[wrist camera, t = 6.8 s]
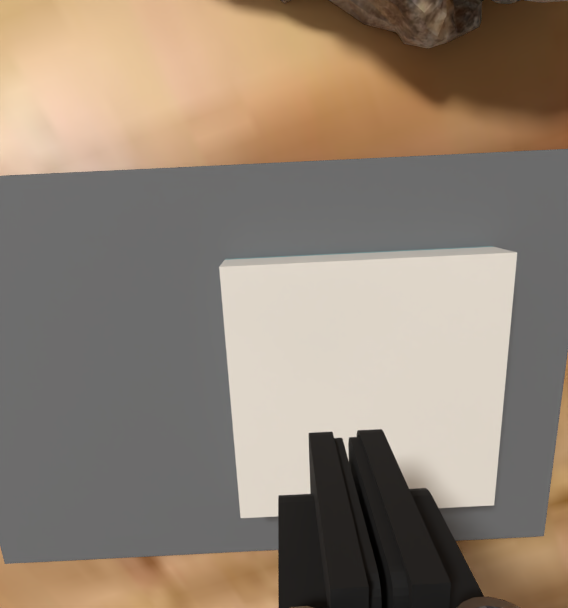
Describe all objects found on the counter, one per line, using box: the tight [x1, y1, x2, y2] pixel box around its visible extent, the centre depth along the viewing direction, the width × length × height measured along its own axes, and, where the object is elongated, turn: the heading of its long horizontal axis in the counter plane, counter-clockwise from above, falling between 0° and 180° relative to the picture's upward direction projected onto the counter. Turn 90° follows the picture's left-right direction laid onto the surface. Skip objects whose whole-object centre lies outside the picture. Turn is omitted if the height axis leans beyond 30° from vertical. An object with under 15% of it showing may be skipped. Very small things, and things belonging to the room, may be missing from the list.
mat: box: [0, 149, 568, 564], centre depth 16 cm, size 22×15×1 cm
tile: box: [219, 246, 517, 518], centre depth 15 cm, size 2×9×9 cm
